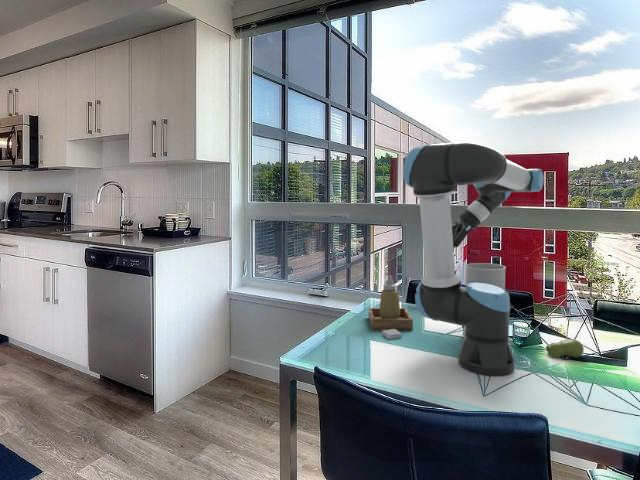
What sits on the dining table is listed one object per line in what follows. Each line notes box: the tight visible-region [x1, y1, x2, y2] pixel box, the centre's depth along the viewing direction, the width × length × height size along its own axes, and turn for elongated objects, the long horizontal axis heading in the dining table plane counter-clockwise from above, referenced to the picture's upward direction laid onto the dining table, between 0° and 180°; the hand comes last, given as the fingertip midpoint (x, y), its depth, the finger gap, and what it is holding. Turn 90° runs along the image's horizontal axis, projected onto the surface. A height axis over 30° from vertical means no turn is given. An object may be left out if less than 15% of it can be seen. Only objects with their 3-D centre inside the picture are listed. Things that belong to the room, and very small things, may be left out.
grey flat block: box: [382, 329, 403, 340], centre depth 143 cm, size 5×5×2 cm
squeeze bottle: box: [379, 274, 401, 319], centre depth 155 cm, size 8×8×18 cm
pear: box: [545, 338, 585, 359], centre depth 123 cm, size 6×5×10 cm
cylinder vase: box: [465, 262, 507, 291], centre depth 140 cm, size 12×12×25 cm
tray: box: [368, 307, 414, 331], centre depth 156 cm, size 15×15×4 cm
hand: (432, 255), depth 153 cm, fingers open, 13 cm apart
